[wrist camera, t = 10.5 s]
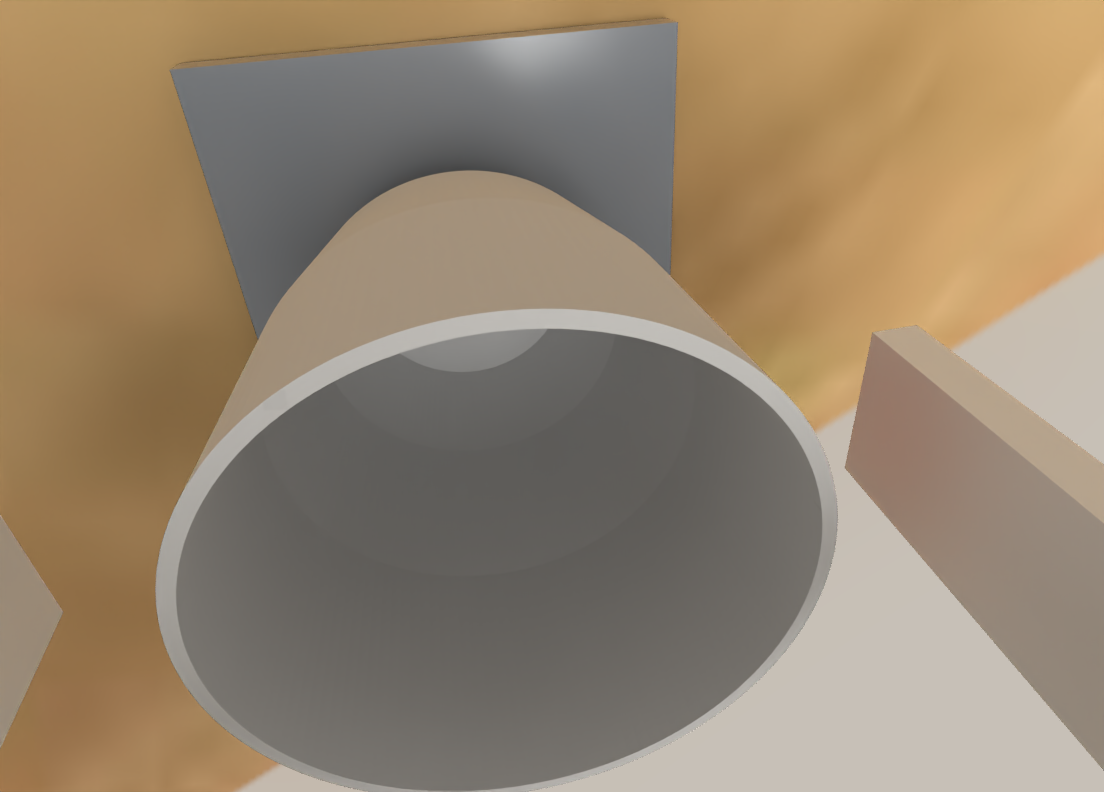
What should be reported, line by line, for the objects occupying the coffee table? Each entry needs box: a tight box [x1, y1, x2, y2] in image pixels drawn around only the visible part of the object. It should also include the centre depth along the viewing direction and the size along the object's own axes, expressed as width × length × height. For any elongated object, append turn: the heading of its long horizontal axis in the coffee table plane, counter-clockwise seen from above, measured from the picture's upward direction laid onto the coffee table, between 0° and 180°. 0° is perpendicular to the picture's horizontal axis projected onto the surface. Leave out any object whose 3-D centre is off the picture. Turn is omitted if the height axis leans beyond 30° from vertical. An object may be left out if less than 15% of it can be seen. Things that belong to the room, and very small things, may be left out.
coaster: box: [170, 18, 678, 339], centre depth 17 cm, size 10×10×1 cm
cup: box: [155, 171, 838, 792], centre depth 13 cm, size 8×8×10 cm
